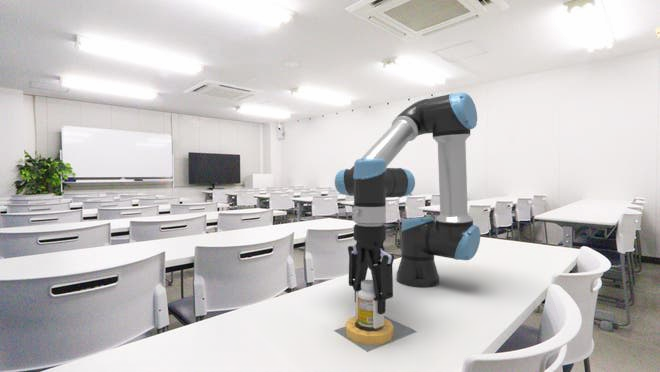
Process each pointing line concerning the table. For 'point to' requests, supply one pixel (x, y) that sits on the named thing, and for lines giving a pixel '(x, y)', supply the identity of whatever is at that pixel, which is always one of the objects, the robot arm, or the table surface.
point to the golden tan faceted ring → (369, 333)
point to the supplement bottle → (366, 303)
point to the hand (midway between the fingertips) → (369, 321)
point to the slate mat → (399, 329)
